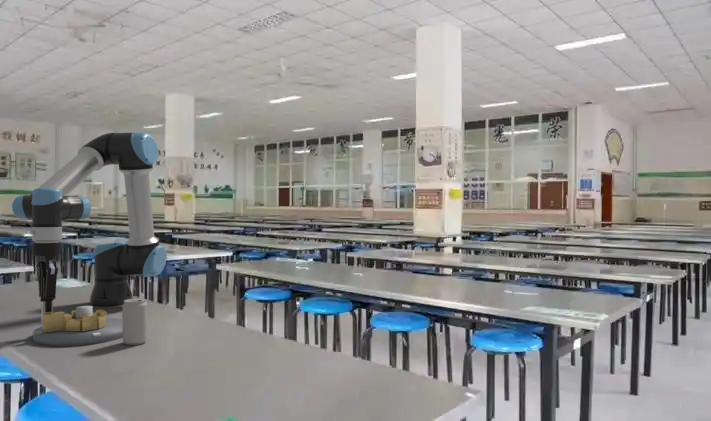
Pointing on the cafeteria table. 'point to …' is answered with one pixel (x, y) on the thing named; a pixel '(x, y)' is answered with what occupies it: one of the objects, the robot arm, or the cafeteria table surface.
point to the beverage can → (134, 321)
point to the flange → (81, 332)
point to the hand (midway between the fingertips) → (47, 322)
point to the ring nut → (73, 321)
